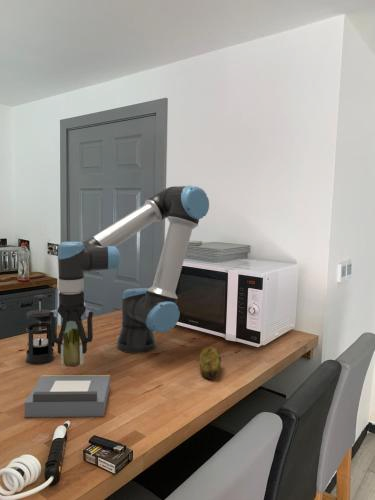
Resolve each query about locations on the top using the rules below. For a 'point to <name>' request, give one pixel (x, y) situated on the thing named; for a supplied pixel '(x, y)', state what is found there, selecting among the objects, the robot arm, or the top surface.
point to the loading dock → (68, 396)
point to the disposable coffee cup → (72, 324)
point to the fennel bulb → (71, 348)
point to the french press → (39, 347)
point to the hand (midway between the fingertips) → (72, 362)
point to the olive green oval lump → (209, 362)
